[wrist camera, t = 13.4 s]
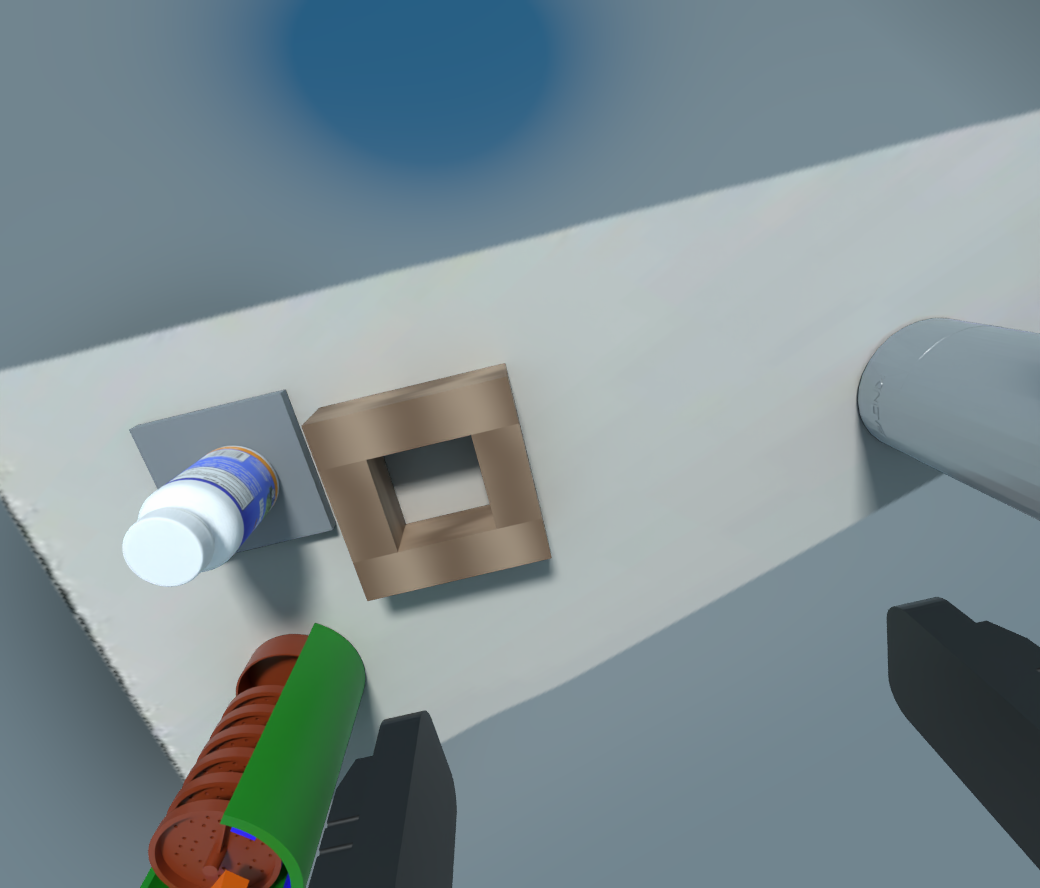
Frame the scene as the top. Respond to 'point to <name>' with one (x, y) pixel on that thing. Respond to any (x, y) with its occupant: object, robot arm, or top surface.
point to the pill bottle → (201, 516)
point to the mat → (255, 427)
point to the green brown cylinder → (265, 771)
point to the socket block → (440, 540)
